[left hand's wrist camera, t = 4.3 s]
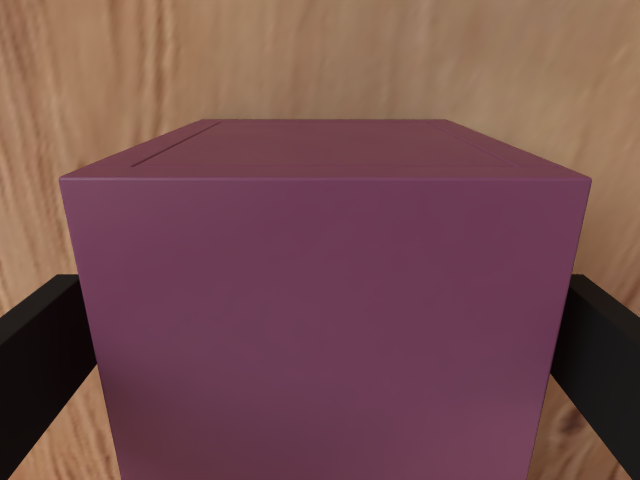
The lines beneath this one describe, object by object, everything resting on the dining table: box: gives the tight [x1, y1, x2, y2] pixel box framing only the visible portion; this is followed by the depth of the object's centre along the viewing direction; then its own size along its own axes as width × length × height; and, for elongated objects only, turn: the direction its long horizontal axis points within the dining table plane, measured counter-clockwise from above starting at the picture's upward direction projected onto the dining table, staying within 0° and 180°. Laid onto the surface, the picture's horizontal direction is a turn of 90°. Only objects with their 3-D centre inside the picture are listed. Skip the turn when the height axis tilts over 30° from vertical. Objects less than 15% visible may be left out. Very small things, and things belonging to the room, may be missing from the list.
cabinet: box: [59, 120, 592, 480], centre depth 16 cm, size 16×10×11 cm, turn 0°
